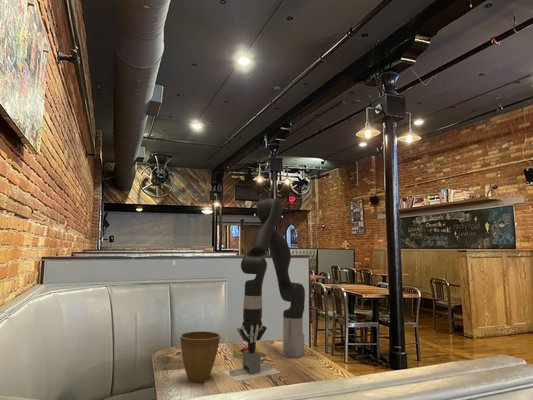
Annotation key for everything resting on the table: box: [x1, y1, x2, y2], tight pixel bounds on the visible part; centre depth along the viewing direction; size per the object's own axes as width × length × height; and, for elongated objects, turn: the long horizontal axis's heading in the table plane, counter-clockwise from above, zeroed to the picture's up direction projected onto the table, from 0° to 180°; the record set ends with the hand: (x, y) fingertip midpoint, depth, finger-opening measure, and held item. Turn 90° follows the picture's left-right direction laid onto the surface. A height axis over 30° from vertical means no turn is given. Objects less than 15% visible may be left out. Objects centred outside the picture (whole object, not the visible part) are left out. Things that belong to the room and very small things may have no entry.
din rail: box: [229, 363, 273, 377], centre depth 145 cm, size 18×2×2 cm, turn 123°
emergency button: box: [230, 346, 263, 360], centre depth 169 cm, size 9×4×15 cm
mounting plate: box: [221, 363, 282, 383], centre depth 145 cm, size 20×12×1 cm, turn 123°
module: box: [242, 350, 262, 374], centre depth 146 cm, size 4×6×7 cm
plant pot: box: [179, 330, 221, 383], centre depth 139 cm, size 15×15×16 cm
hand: (251, 352), depth 146 cm, fingers closed
